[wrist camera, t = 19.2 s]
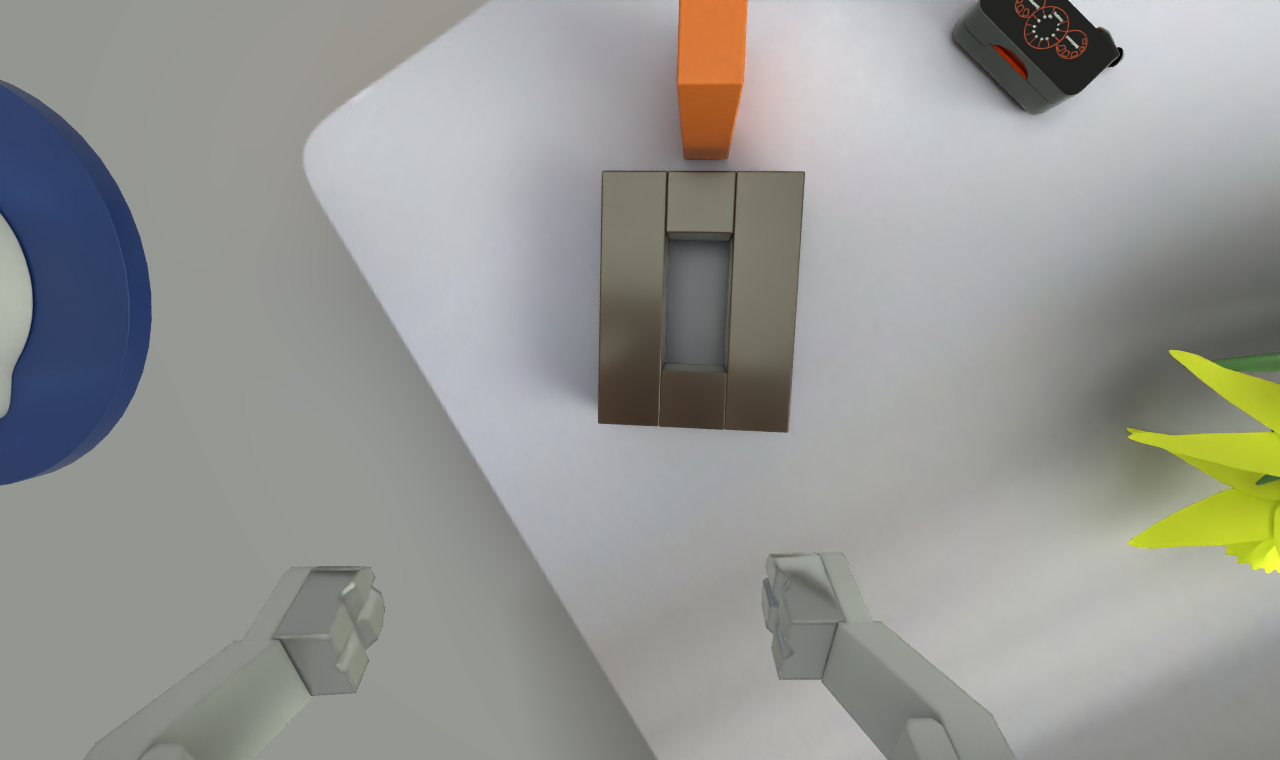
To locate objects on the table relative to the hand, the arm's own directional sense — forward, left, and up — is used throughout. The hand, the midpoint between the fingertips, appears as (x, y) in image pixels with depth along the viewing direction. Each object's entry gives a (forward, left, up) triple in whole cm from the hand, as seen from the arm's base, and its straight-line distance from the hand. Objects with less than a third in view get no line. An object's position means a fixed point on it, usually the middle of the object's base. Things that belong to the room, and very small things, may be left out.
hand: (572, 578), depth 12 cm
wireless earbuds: (+24, +10, -22) cm, 34 cm away
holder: (+4, +4, -22) cm, 23 cm away
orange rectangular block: (+8, +15, -22) cm, 28 cm away
